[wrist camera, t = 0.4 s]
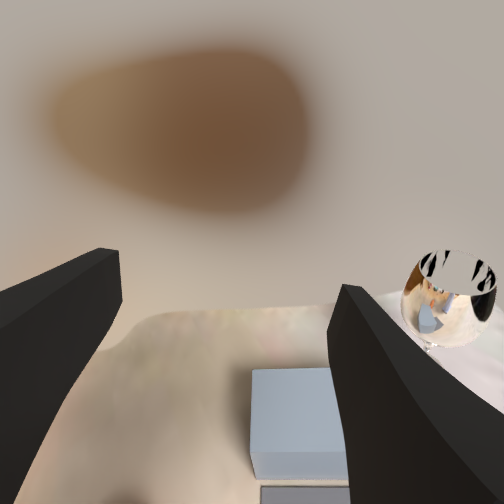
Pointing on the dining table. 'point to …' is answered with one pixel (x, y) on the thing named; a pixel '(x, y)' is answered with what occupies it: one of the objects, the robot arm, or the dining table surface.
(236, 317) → the dining table surface
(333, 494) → the tape square
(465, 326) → the wineglass
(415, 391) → the robot arm
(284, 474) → the pale grey-blue block
